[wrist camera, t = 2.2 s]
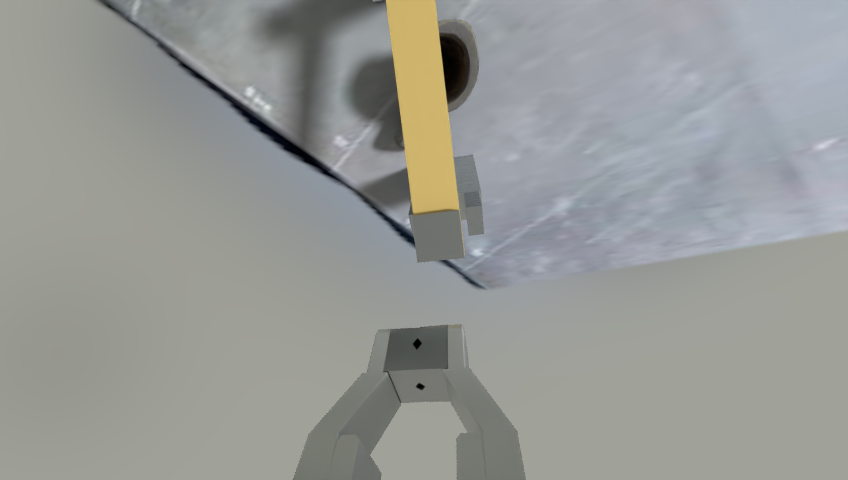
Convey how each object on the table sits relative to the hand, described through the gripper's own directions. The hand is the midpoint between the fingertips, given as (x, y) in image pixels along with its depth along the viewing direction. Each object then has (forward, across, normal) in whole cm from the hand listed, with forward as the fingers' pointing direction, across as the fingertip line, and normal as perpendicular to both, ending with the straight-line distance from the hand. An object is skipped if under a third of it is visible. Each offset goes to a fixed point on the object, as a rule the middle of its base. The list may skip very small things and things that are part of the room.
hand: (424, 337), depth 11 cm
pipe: (+30, 0, -4) cm, 30 cm away
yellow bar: (+15, 0, -5) cm, 16 cm away
